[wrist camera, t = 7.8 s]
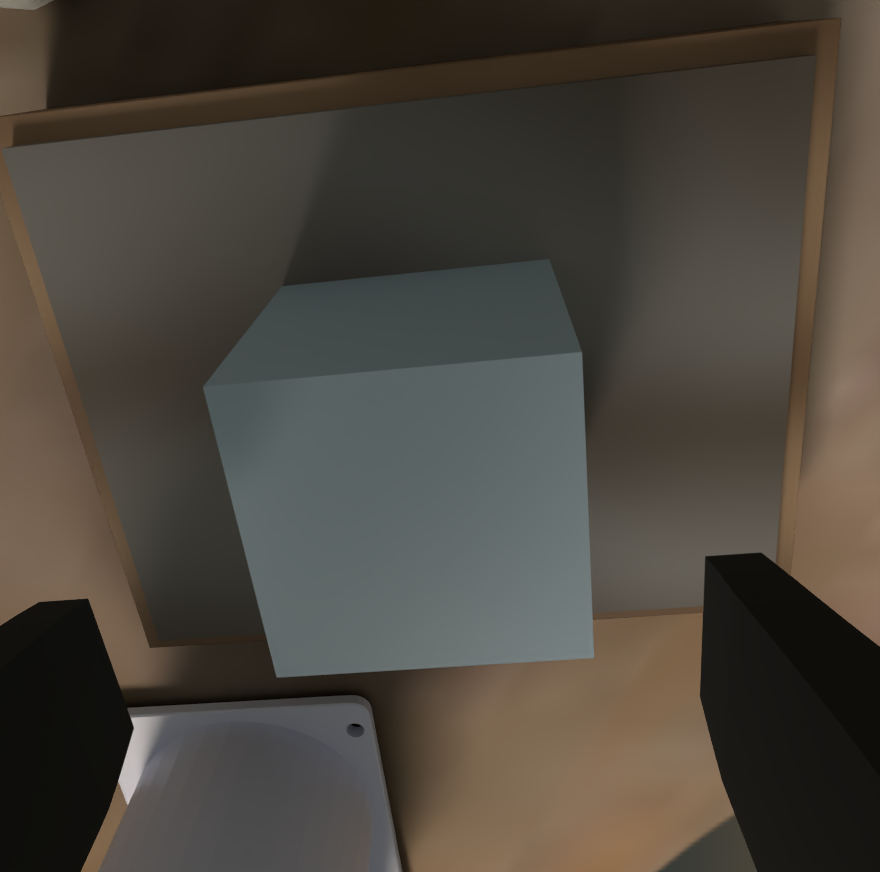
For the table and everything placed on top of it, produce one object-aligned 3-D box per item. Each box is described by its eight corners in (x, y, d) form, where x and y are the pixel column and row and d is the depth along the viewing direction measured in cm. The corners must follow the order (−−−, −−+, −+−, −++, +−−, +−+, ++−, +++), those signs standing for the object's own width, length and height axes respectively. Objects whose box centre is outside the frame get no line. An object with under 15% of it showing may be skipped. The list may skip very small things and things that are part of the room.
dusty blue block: (562, 495, 17) (594, 658, 13) (326, 514, 18) (276, 677, 13) (548, 259, 15) (582, 352, 10) (281, 286, 15) (202, 387, 11)
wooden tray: (753, 544, 21) (794, 618, 18) (184, 583, 22) (143, 659, 19) (786, 21, 16) (851, 17, 13) (44, 109, 17) (-36, 122, 14)
